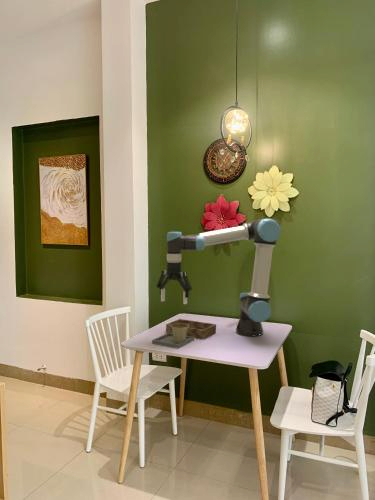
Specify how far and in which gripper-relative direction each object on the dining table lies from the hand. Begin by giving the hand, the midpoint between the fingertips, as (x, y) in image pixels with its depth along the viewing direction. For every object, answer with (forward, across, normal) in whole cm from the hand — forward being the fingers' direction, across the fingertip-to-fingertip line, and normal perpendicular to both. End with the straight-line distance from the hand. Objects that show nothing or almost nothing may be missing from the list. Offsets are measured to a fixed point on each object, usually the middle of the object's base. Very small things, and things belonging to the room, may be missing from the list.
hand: (173, 302), depth 201 cm
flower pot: (+20, -4, 0) cm, 21 cm away
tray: (+21, 0, 0) cm, 21 cm away
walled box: (+21, 0, -19) cm, 28 cm away
